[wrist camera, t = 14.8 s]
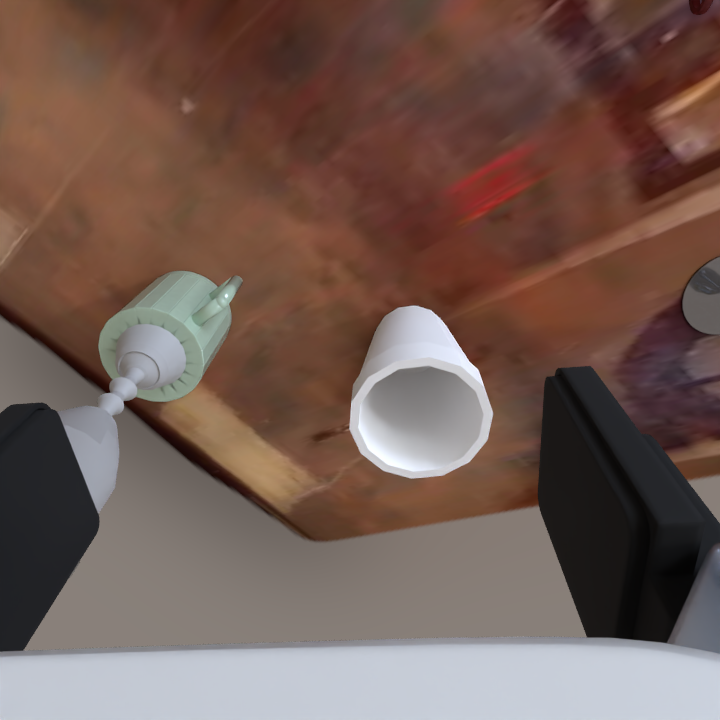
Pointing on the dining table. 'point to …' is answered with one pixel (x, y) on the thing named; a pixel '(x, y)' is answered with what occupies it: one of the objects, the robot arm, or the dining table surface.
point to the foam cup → (418, 398)
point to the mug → (176, 325)
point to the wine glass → (704, 298)
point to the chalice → (120, 403)
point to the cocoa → (699, 6)
